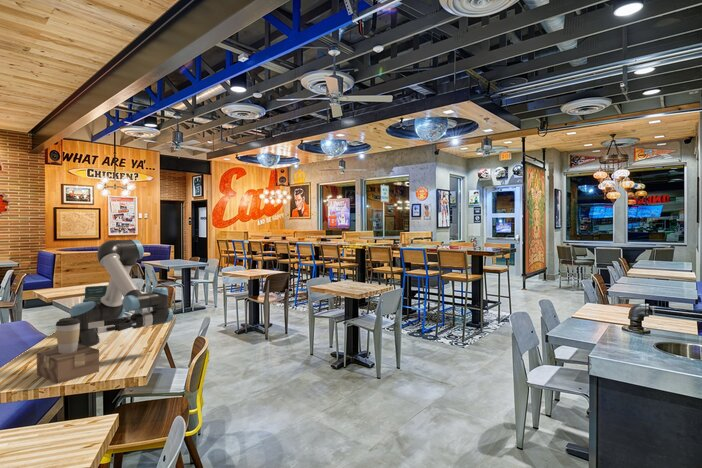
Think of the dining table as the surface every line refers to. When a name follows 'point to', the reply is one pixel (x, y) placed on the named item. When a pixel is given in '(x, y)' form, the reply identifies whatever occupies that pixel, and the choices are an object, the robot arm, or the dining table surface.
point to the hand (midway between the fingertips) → (92, 328)
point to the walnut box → (67, 363)
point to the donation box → (95, 295)
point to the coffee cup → (68, 334)
